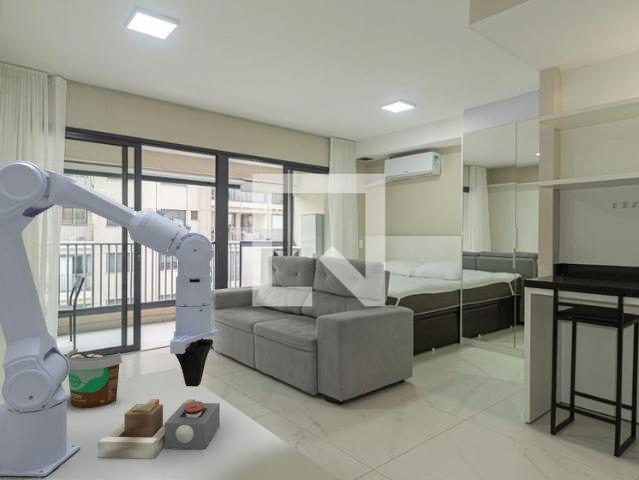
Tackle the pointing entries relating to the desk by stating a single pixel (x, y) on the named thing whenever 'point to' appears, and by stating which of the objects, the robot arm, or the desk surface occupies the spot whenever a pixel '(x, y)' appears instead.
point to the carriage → (143, 420)
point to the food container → (92, 378)
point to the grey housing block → (192, 428)
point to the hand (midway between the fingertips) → (193, 385)
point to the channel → (132, 443)
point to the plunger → (194, 409)
